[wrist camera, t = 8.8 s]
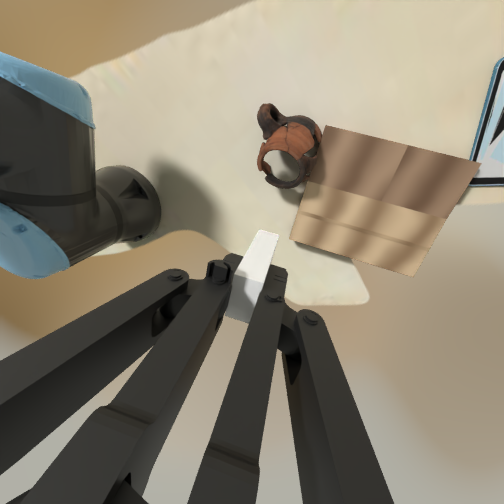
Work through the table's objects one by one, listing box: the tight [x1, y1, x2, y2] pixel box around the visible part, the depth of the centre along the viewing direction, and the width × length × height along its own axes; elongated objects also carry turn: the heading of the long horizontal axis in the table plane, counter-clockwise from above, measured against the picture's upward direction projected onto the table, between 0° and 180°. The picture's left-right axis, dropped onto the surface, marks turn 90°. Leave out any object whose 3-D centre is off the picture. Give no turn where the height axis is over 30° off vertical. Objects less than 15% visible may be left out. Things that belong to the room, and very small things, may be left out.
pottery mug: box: [257, 103, 322, 189], centre depth 36 cm, size 12×9×8 cm
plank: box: [289, 181, 446, 277], centre depth 40 cm, size 21×10×2 cm, turn 76°
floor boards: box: [308, 125, 482, 219], centre depth 36 cm, size 21×8×2 cm, turn 76°
